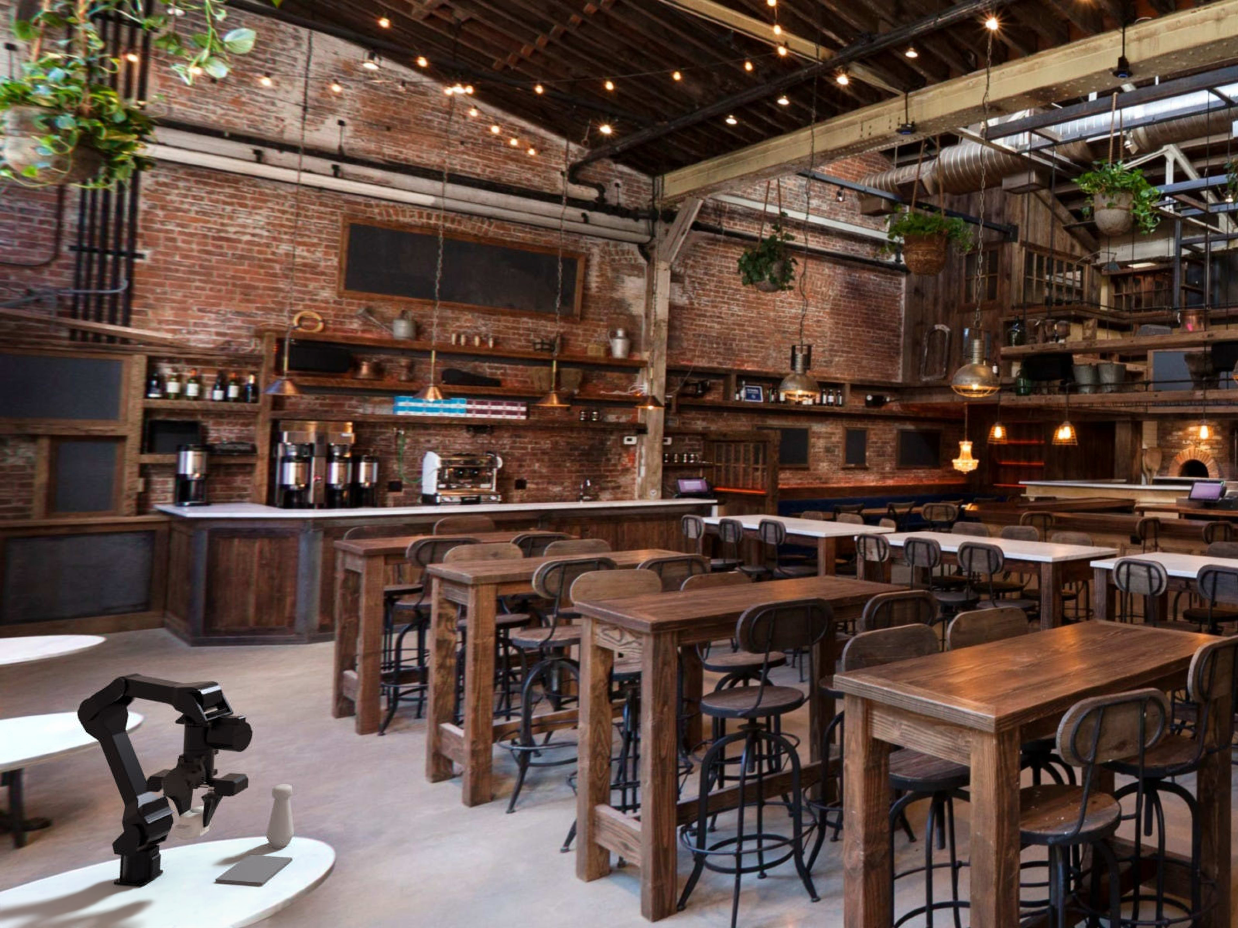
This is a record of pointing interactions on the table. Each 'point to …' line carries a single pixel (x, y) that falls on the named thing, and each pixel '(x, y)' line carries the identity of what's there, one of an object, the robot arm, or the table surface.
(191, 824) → the plug
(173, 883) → the table surface
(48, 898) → the table surface
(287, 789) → the salt shaker
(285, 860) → the coaster
